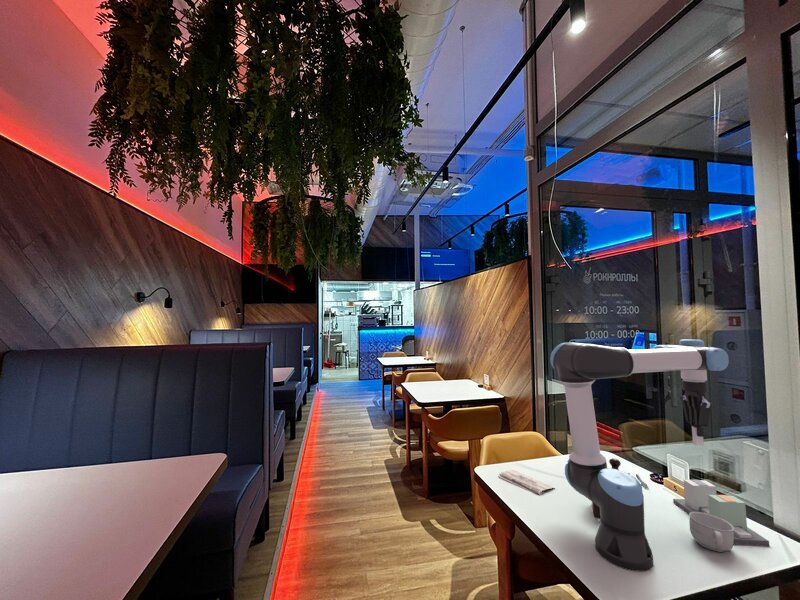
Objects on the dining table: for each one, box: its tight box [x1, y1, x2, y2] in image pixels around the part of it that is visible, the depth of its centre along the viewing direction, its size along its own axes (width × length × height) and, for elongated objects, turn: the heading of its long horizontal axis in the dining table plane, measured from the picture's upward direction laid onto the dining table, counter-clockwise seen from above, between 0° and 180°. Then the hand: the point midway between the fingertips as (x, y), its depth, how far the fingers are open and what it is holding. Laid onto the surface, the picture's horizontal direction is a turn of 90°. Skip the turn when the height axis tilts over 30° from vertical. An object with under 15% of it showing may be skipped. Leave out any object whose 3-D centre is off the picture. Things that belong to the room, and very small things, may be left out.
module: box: [708, 494, 748, 531], centre depth 119 cm, size 8×5×9 cm, turn 84°
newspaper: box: [498, 469, 556, 495], centre depth 155 cm, size 23×12×2 cm, turn 32°
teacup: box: [688, 512, 734, 553], centre depth 110 cm, size 14×11×8 cm
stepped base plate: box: [672, 479, 770, 547], centre depth 124 cm, size 12×26×11 cm, turn 174°
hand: (698, 444), depth 128 cm, fingers closed
